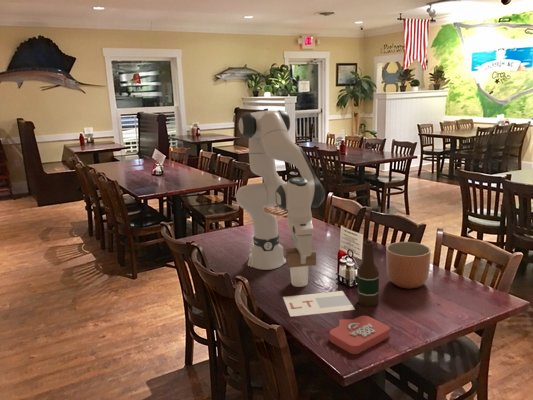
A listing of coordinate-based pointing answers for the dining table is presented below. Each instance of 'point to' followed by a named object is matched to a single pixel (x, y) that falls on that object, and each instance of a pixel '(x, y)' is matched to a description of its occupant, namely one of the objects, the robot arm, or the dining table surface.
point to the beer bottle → (368, 278)
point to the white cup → (299, 276)
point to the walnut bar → (294, 258)
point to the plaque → (359, 334)
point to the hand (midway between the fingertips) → (300, 259)
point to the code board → (317, 303)
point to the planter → (408, 264)
